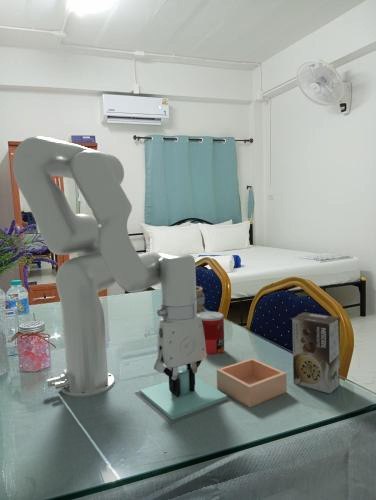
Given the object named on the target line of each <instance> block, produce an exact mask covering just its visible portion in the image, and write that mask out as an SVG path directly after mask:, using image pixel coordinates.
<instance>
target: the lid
mask: <svg viewBox="0 0 376 500" xmlns="http://www.w3.org/2000/svg"><path fill="white" fill-rule="evenodd" d="M177 378H179V380H180V396H179V397H176V396H175V395H174V394H172V393H171V392H170V390H169V380H166V381H164V382H161V383H158V384H156V385H152V386H149V387H145V388H141V389H140V390H139V391H140V394H142V395H143V396H144V397H145V398H146V399H148V400H149V401H150V402H151V403H152V404H153V405H155V406H156V407H157V408H158V409H159V410H160V411H162V412H163V413H164V414H165V415H166V416H168V417H169V418H170V419H171V420H174V419H177V418H179V417H182V416H185V415H187V414H190V413H192V412H195V411H198V410H200V409H203V408H205V407H208V406H211V405H213V404H216V403H219V402H221V401H224V400H226V399H227V396H228V394H226V393H224V392H223V391H221V390H219V389H218V388H215V387H213V386H212V385H210V384H209V383H208V382H206V383H205V380H202V379H201V378H199V377H197V376H196V375H195V391H193V392H192V391H190V384H189V370H188V369H186V367H184V368H183V367H180V368H179V367H178V374H177Z"/></svg>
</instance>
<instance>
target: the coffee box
mask: <svg viewBox="0 0 376 500" xmlns="http://www.w3.org/2000/svg"><path fill="white" fill-rule="evenodd" d="M340 318H341V317H339V316H332V315H325V314H319V313H312V312H304V311H303V312H301V313H299V314H298V315H297V316H294V317H292V358H293V359H292V362H293V363H292V365H293V368H292V371H293V372H292V373H293V374H292V375H293V376H292V377H293V380H292V381H293V384H294V385H298V386H301V387H305V388H309V389H313V390H315V391H319V392H323V393H327V394H332V392H333V391H335V390H336V389H337V388H338V387H339V386H340V384H341V381H340V379H341V378H340V377H341V376H340V375H341V369H340V368H341V365H340V364H341V363H340V362H341V361H340V360H341V358H340V355H341V354H340V351H341V347H340V346H341V345H340V344H341V343H340V341H341V340H340V339H341V338H340V336H341V335H340V333H341V330H340V329H341V326H340V325H341V320H340Z"/></svg>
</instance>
